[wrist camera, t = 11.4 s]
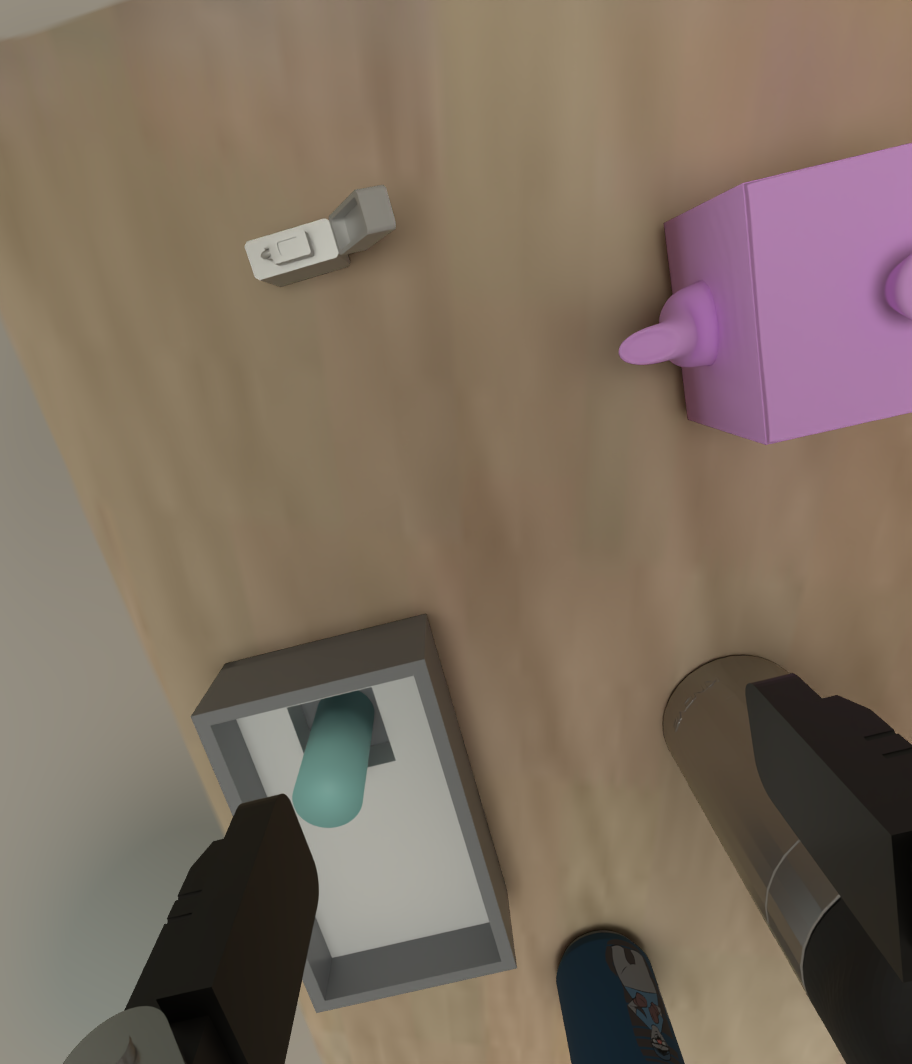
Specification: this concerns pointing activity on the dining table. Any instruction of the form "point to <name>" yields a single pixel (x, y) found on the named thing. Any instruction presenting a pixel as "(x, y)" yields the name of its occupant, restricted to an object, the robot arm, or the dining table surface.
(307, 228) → the lighter
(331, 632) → the dining table surface
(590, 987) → the soda can
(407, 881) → the bin
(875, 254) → the teapot
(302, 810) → the peg
